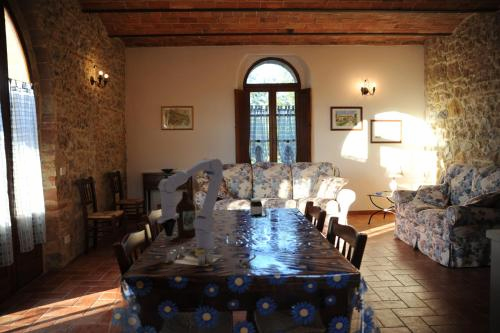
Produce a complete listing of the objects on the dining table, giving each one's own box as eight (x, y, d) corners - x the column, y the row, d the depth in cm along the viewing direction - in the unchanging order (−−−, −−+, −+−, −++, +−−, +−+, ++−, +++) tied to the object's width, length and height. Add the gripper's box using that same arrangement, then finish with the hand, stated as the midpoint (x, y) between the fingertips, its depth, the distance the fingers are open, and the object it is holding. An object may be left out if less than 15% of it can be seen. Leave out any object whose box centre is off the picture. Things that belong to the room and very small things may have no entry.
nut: (197, 253, 184) (197, 247, 183) (207, 254, 182) (207, 247, 182) (192, 256, 180) (192, 249, 179) (203, 257, 178) (202, 250, 178)
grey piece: (178, 255, 182) (177, 246, 182) (218, 258, 175) (218, 249, 175) (163, 262, 172) (163, 253, 171) (206, 266, 164) (205, 256, 164)
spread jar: (249, 214, 288) (248, 198, 287) (264, 213, 291) (263, 197, 291) (254, 217, 277) (253, 200, 276) (269, 216, 280) (269, 199, 279)
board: (183, 254, 187) (183, 252, 187) (223, 257, 180) (223, 255, 180) (164, 264, 172) (164, 262, 172) (206, 268, 165) (206, 265, 165)
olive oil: (173, 235, 227) (172, 191, 225) (191, 233, 233) (189, 189, 231) (181, 239, 218) (180, 192, 216) (199, 236, 224) (197, 191, 222)
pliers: (254, 252, 185) (264, 265, 166) (254, 254, 185) (264, 267, 166) (233, 254, 183) (240, 267, 164) (233, 256, 183) (241, 269, 164)
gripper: (169, 203, 188) (170, 232, 189) (150, 208, 175) (152, 239, 176) (182, 203, 186) (183, 233, 187) (164, 208, 172) (166, 240, 173)
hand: (169, 236), depth 181 cm, fingers closed
